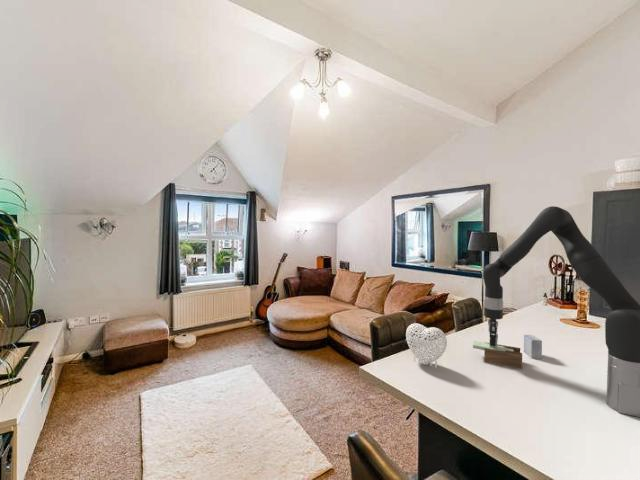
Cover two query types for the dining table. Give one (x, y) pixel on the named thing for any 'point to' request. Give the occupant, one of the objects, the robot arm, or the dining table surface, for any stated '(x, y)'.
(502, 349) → the lid
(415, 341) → the decorative heart
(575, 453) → the dining table surface
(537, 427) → the dining table surface
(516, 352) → the box
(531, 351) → the medicine box
